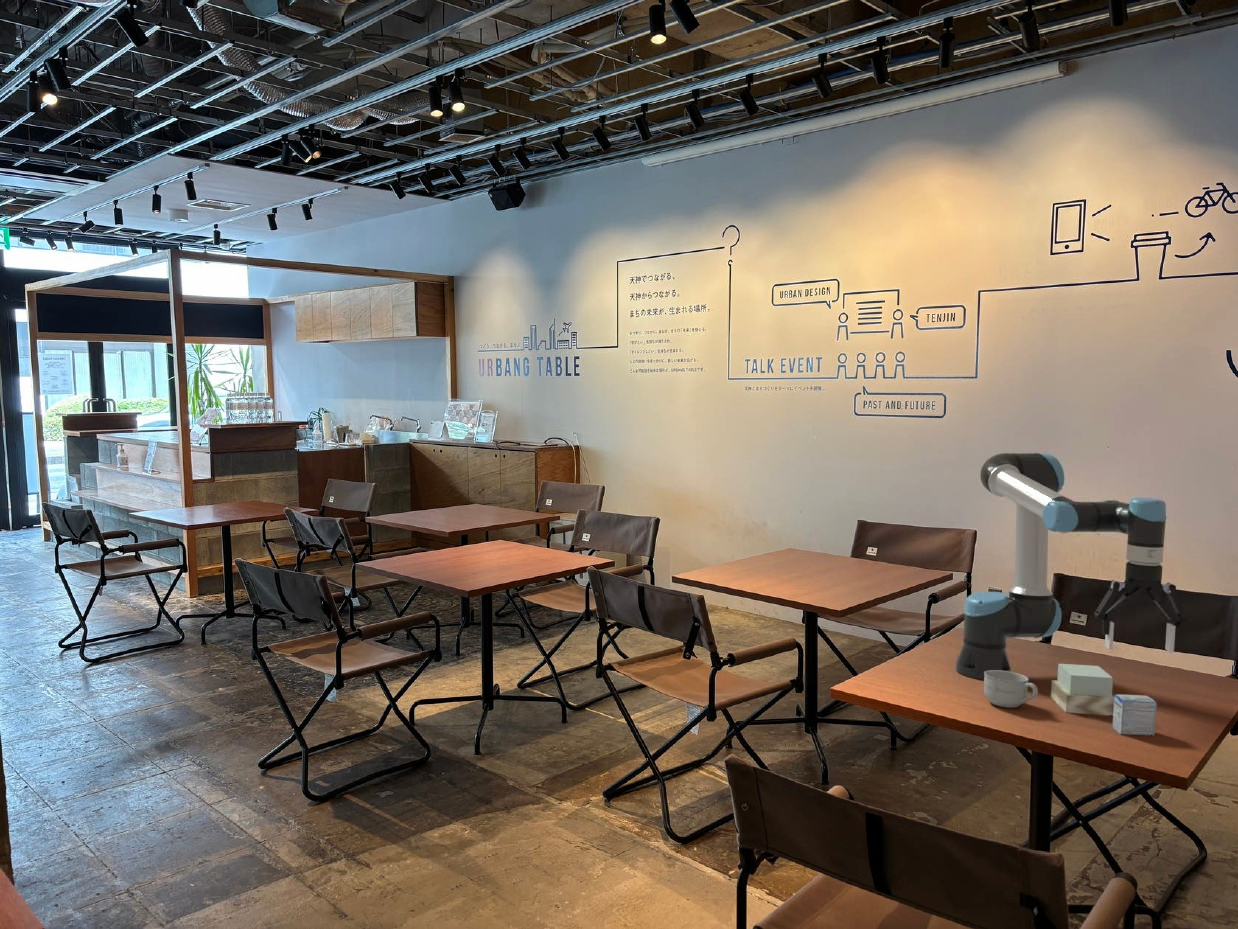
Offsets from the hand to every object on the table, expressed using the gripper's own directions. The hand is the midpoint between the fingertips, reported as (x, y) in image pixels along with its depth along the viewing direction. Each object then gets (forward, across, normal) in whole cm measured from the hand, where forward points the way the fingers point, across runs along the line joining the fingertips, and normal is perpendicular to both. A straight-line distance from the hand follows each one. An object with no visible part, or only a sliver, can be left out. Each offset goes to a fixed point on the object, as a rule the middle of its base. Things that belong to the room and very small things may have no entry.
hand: (1138, 649), depth 210 cm
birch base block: (+21, -6, +17) cm, 28 cm away
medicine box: (+21, 0, 0) cm, 21 cm away
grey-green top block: (+16, -6, +17) cm, 24 cm away
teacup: (+21, -25, +13) cm, 35 cm away
